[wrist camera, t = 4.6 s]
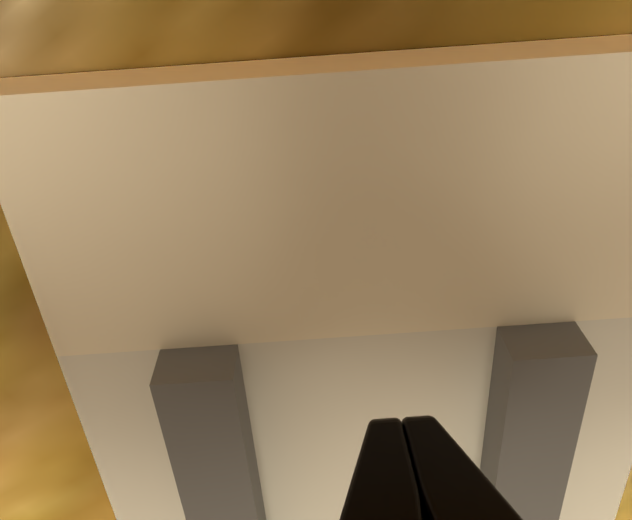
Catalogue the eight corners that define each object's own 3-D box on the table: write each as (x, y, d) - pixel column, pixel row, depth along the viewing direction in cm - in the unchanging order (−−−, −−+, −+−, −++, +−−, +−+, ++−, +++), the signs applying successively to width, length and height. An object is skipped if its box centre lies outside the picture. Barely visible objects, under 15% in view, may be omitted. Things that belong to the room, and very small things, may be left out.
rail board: (715, 27, 10) (906, 84, 7) (556, 619, 19) (606, 756, 16) (-4, 77, 10) (-138, 156, 7) (184, 643, 19) (162, 785, 16)
